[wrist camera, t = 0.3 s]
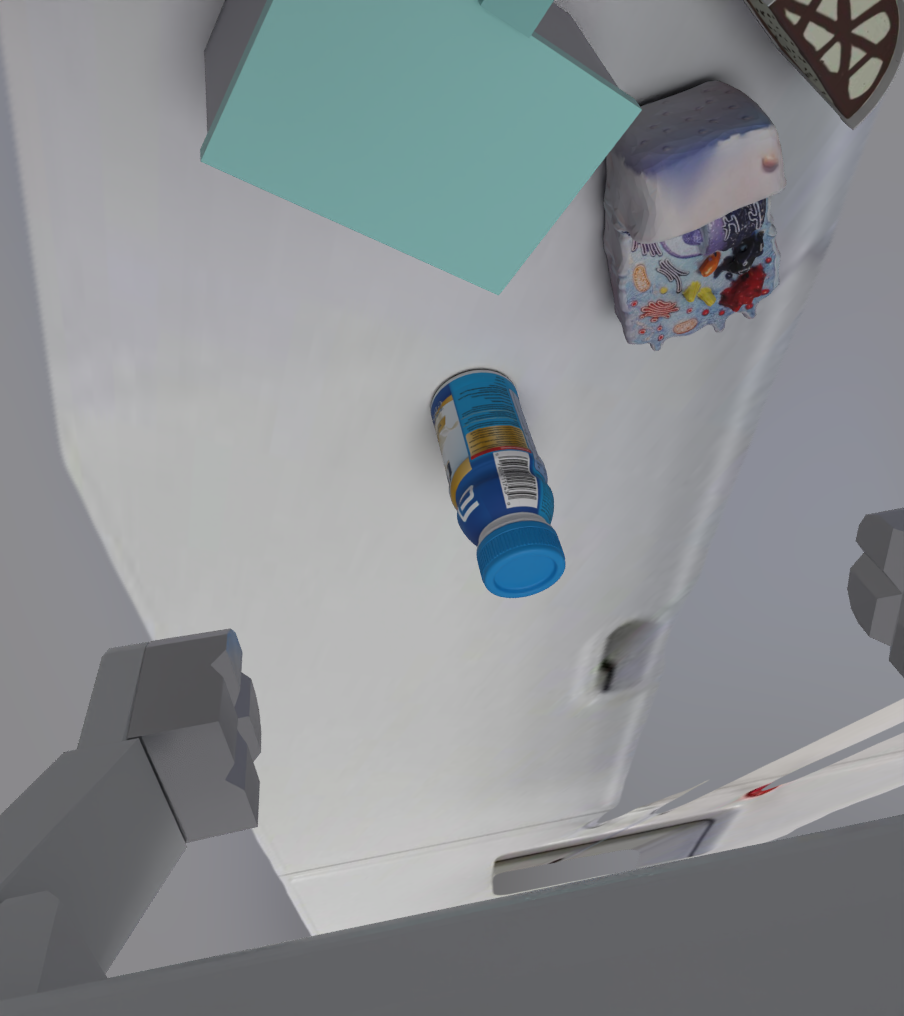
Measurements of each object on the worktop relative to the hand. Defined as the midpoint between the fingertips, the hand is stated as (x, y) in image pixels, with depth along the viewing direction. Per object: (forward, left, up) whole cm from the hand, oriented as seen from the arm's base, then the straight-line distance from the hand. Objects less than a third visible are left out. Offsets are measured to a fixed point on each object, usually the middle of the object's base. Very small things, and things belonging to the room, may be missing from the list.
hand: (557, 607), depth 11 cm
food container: (-7, +32, -51) cm, 60 cm away
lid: (+6, +12, -39) cm, 42 cm away
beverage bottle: (+33, +35, -51) cm, 70 cm away
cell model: (+9, +37, -51) cm, 64 cm away
